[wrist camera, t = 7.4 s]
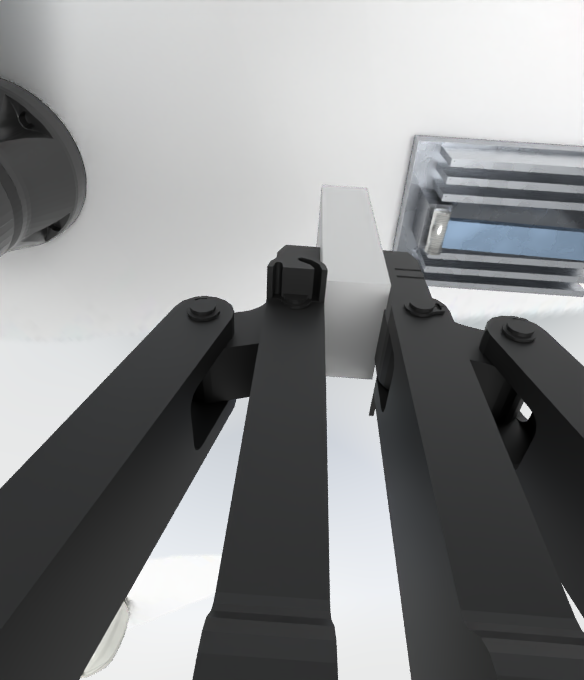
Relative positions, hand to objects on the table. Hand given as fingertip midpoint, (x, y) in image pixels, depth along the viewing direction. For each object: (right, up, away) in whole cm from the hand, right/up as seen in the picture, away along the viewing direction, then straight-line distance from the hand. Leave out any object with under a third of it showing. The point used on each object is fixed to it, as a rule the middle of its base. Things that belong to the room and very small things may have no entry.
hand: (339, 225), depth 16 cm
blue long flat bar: (+18, +5, +24) cm, 30 cm away
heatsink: (+18, +9, +29) cm, 35 cm away
